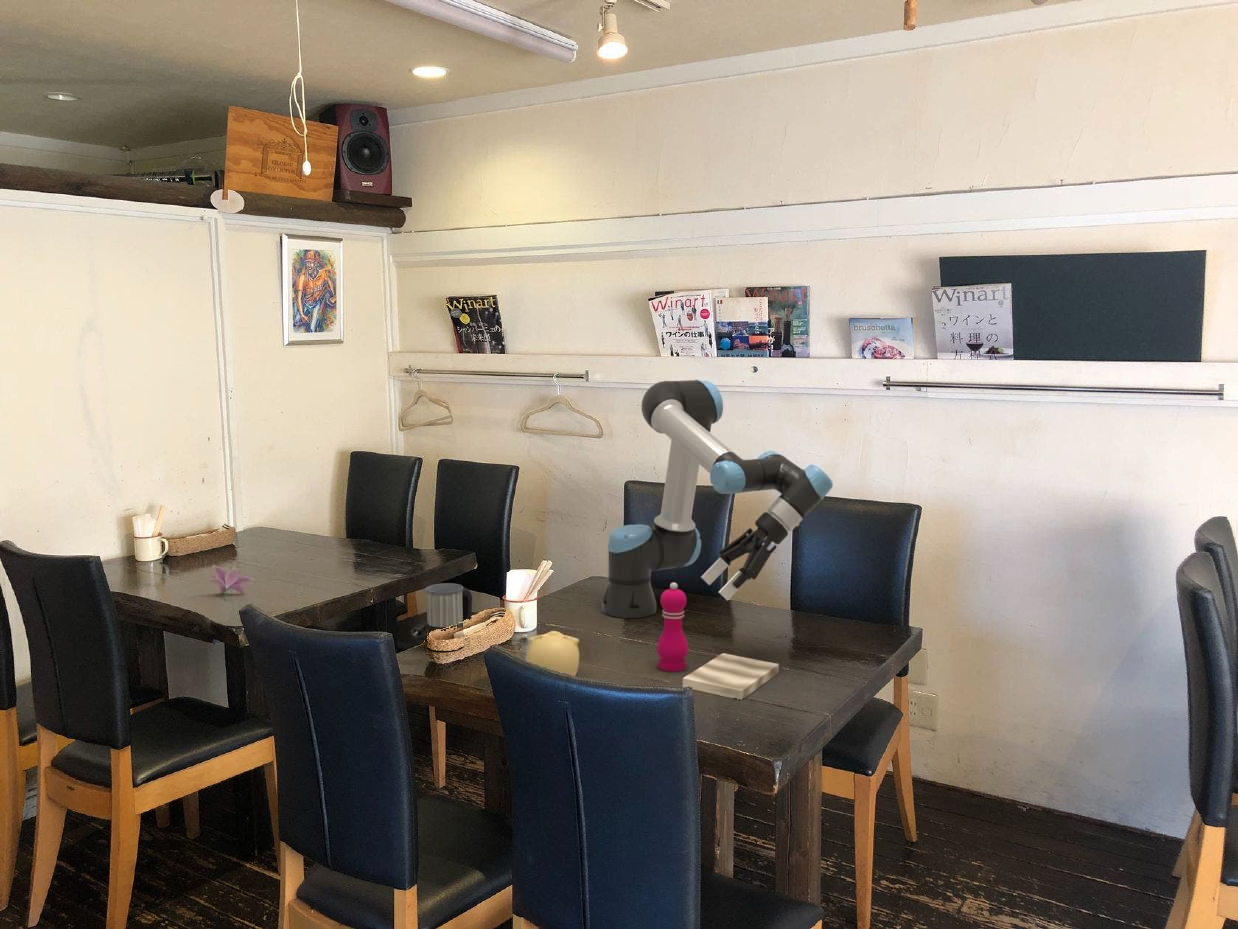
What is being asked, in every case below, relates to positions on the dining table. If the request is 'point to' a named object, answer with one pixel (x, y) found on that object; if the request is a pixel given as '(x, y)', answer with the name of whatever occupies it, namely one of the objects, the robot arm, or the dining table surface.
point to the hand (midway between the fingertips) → (713, 588)
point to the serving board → (731, 676)
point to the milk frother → (444, 608)
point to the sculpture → (554, 652)
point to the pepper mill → (672, 631)
